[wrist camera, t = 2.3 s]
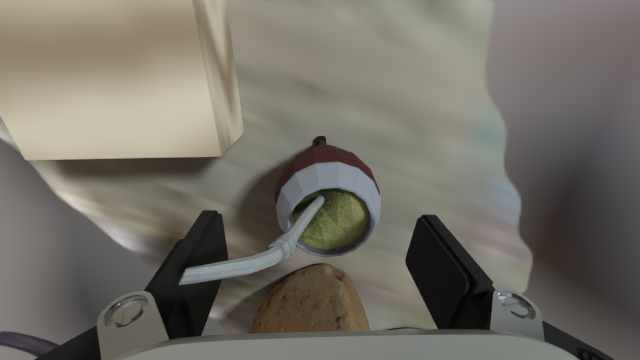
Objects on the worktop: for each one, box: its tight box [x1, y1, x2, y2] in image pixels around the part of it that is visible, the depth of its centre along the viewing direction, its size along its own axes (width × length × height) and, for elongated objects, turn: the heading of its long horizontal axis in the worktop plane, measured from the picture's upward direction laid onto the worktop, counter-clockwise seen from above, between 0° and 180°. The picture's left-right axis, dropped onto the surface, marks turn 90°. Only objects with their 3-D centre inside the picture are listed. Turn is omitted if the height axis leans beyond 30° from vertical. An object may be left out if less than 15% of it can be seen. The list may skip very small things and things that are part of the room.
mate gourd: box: [179, 136, 381, 285], centre depth 14 cm, size 8×8×15 cm
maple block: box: [0, 0, 244, 160], centre depth 14 cm, size 11×11×6 cm
